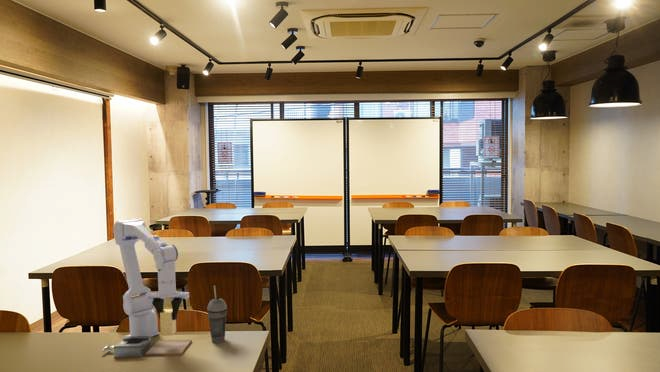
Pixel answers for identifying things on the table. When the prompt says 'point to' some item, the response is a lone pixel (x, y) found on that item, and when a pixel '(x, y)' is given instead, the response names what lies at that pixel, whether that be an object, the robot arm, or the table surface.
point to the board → (168, 347)
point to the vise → (131, 346)
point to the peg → (167, 322)
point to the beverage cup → (217, 318)
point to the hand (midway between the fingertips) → (168, 319)
